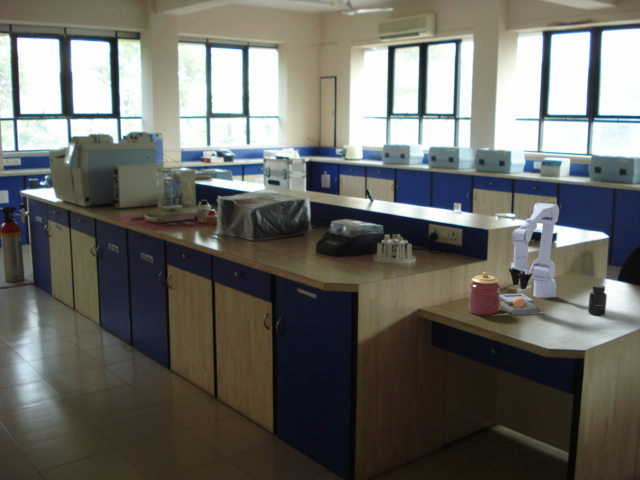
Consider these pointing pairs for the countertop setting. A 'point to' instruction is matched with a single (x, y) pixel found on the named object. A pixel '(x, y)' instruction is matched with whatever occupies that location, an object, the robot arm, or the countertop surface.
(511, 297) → the dish
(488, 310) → the canister
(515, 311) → the tray
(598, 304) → the supplement bottle
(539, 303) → the countertop surface
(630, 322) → the countertop surface
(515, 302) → the ball
